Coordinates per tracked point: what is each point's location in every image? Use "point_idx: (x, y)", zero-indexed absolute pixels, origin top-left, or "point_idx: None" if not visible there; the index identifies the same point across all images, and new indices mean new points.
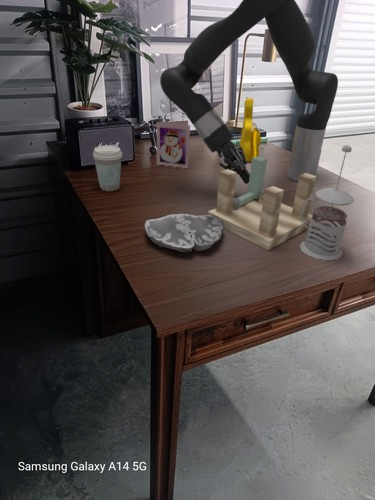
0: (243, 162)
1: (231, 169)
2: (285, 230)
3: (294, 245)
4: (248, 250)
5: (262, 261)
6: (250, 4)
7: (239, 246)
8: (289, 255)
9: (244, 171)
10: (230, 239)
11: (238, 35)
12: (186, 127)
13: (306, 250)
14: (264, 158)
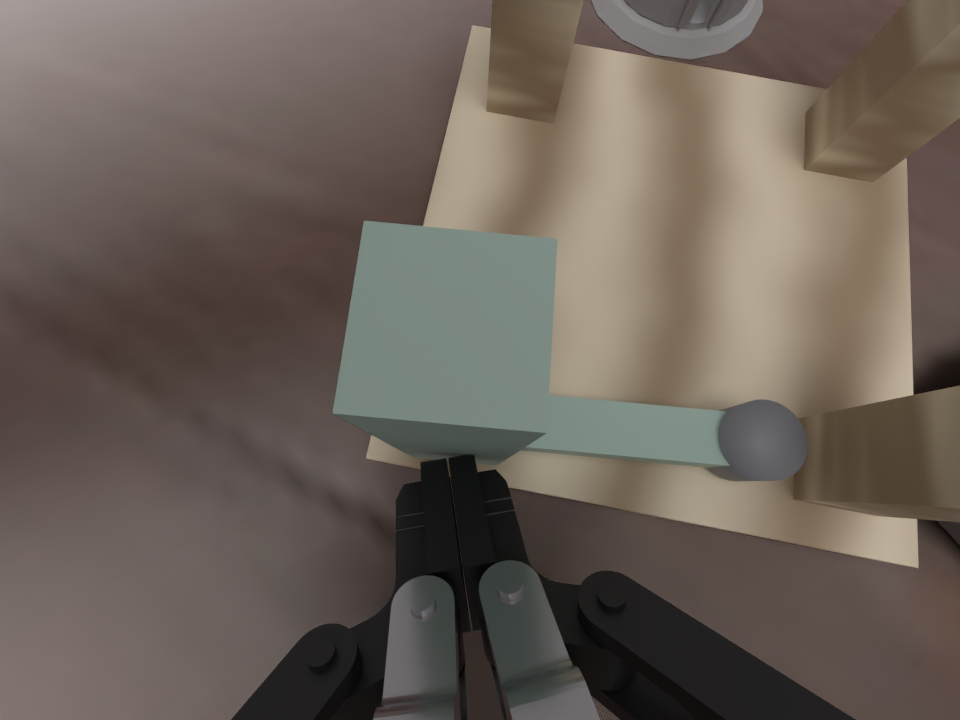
0: (352, 677)
1: (645, 701)
2: (745, 86)
3: None
4: (936, 206)
5: (956, 124)
6: None
7: (943, 254)
8: (822, 61)
9: (492, 549)
10: (928, 321)
11: None
12: None
13: (753, 11)
14: (386, 262)
